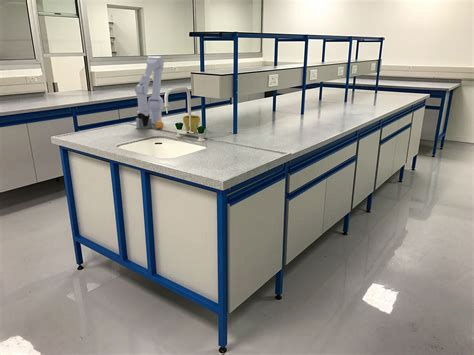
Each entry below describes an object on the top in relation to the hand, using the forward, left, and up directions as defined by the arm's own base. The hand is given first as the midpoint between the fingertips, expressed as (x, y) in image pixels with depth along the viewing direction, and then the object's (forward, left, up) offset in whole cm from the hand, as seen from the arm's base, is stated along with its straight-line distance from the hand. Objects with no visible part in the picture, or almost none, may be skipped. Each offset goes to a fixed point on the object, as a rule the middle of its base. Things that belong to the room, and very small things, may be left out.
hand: (144, 125), depth 244 cm
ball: (+7, +8, +1) cm, 11 cm away
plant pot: (+27, +22, -2) cm, 35 cm away
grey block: (0, 0, -2) cm, 2 cm away
